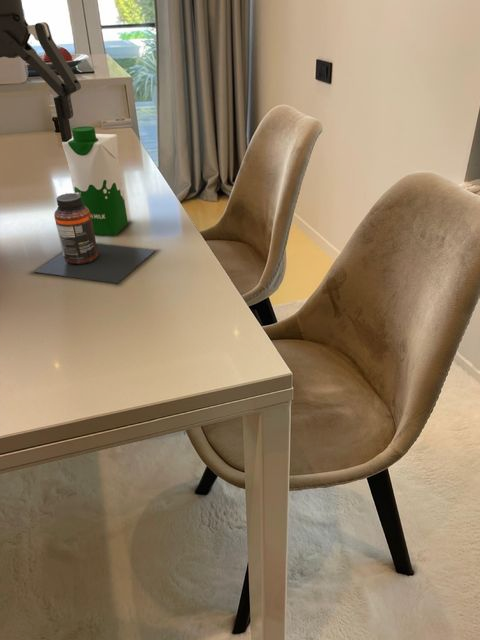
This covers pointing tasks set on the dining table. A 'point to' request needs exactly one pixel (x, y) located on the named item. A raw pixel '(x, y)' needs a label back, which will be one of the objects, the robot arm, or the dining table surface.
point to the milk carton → (97, 178)
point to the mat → (100, 264)
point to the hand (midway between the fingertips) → (25, 140)
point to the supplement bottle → (75, 229)
